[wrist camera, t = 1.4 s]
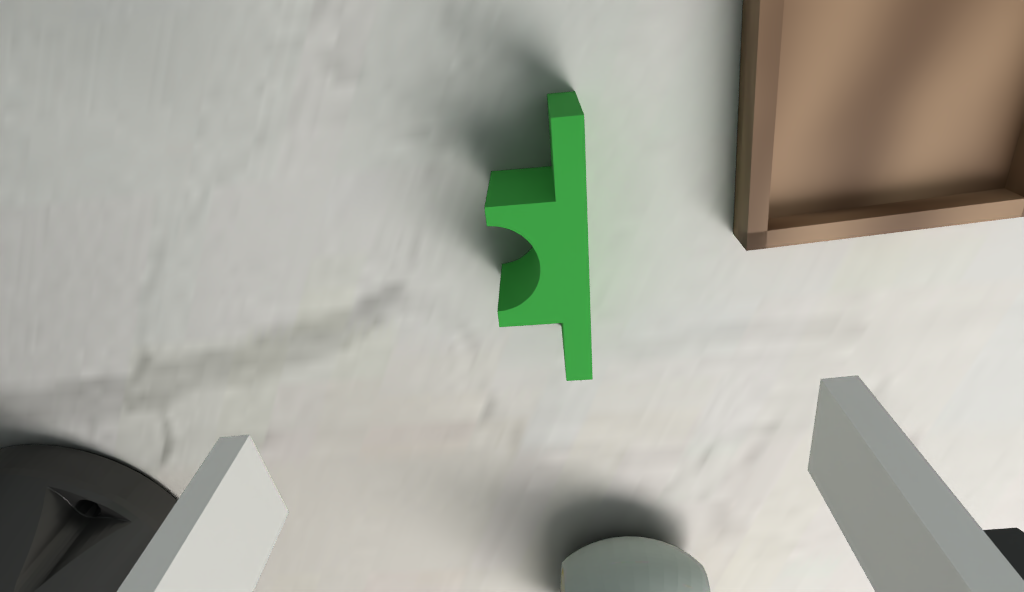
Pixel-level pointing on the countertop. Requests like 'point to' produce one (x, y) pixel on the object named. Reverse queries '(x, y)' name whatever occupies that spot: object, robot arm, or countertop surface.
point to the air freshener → (632, 568)
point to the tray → (877, 117)
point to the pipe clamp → (549, 237)
